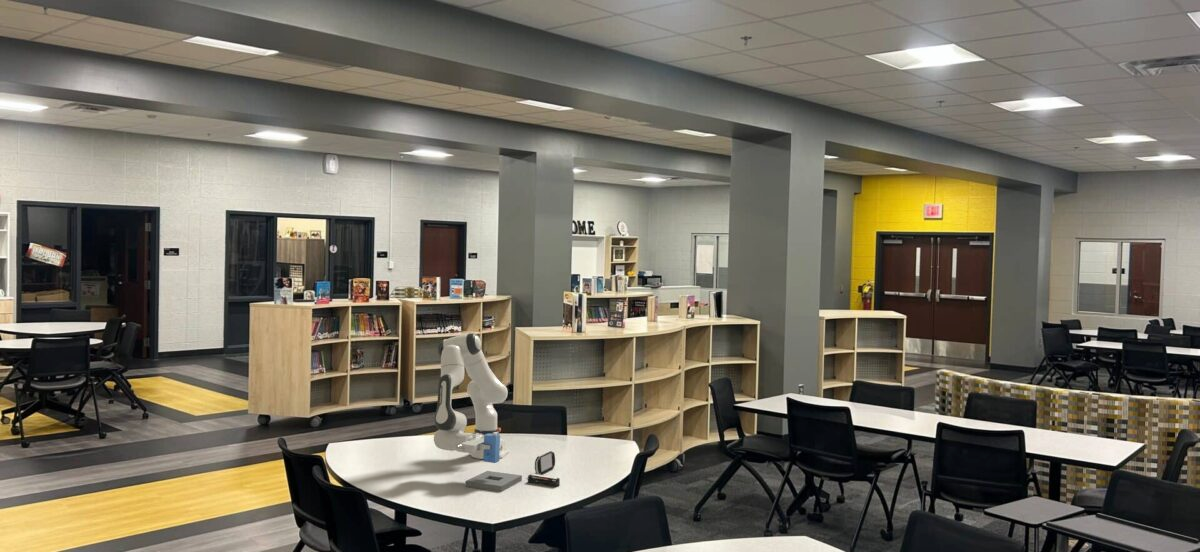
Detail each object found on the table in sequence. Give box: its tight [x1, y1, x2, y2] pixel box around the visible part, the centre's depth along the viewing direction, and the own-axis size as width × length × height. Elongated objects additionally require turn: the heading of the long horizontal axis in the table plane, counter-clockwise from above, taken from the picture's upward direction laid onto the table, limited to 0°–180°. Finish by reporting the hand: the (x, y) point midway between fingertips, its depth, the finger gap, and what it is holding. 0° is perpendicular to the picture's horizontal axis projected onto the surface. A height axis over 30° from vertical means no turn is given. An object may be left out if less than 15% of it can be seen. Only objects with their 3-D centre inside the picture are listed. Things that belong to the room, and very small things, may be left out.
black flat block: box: [527, 473, 561, 488], centre depth 374 cm, size 14×25×4 cm, turn 65°
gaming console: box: [534, 450, 556, 475], centre depth 397 cm, size 19×9×2 cm
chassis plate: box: [465, 470, 523, 493], centre depth 374 cm, size 20×18×2 cm
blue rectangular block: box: [482, 432, 501, 464], centre depth 374 cm, size 10×6×13 cm, turn 159°
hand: (493, 446), depth 374 cm, fingers closed on blue rectangular block, 4 cm apart
